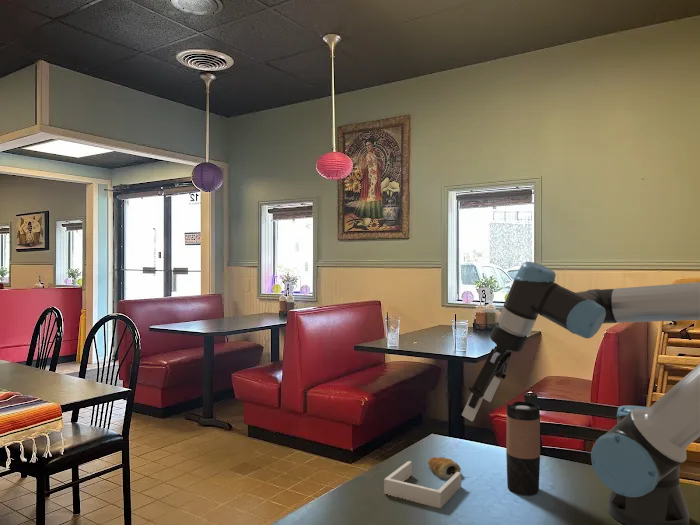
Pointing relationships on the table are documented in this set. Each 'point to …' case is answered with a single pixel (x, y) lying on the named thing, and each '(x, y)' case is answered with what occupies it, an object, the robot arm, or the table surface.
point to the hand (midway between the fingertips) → (476, 408)
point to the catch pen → (420, 488)
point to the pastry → (443, 467)
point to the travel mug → (523, 448)
